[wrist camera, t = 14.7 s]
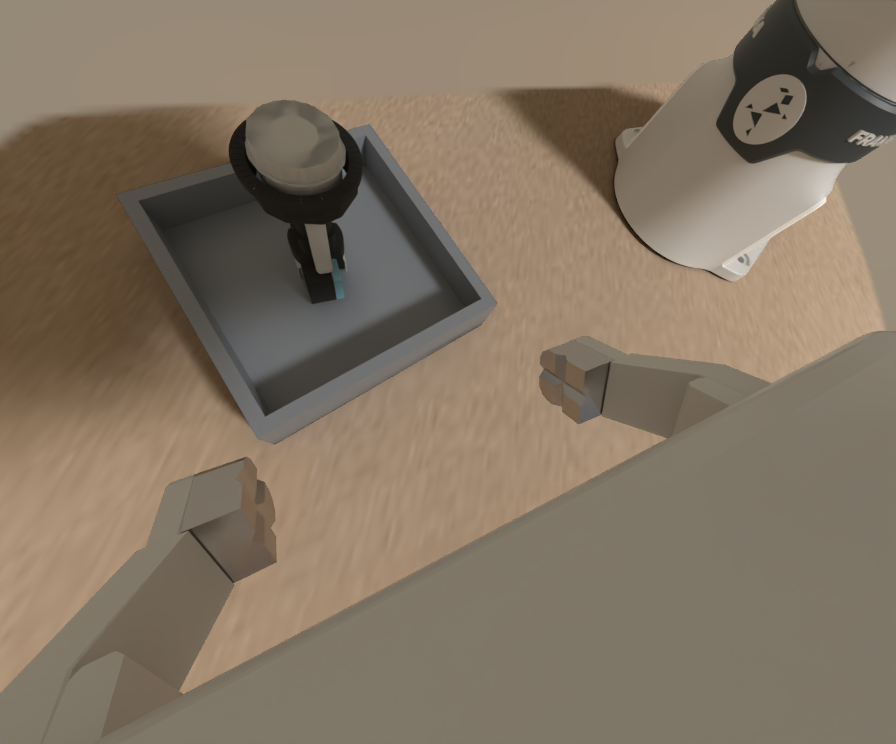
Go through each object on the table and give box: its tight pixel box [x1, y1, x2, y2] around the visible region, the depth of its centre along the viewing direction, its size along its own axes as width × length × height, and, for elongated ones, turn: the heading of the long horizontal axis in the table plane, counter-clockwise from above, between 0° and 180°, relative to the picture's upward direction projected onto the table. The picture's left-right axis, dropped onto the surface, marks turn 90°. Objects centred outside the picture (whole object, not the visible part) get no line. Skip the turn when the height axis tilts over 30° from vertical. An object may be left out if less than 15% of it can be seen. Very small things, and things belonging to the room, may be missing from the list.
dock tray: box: [116, 124, 498, 444], centre depth 22 cm, size 16×16×4 cm
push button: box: [229, 100, 363, 304], centre depth 19 cm, size 7×5×10 cm
